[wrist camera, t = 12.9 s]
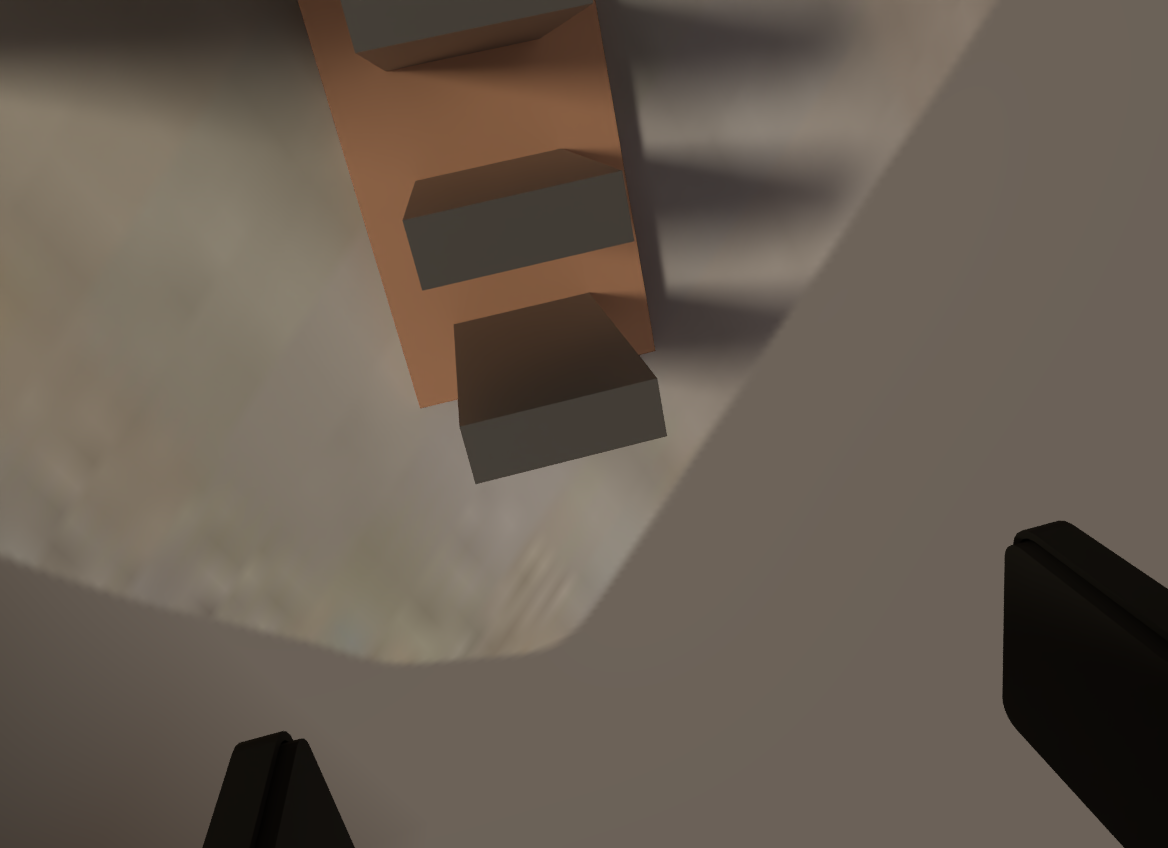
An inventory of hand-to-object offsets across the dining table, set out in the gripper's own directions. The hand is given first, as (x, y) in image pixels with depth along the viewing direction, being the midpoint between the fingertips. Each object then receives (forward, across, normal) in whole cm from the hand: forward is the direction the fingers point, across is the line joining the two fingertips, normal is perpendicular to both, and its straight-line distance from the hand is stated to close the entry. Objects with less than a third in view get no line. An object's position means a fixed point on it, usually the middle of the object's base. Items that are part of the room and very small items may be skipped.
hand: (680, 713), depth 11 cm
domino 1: (+20, 0, -10) cm, 23 cm away
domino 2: (+20, 0, -5) cm, 21 cm away
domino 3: (+20, 0, 0) cm, 21 cm away
